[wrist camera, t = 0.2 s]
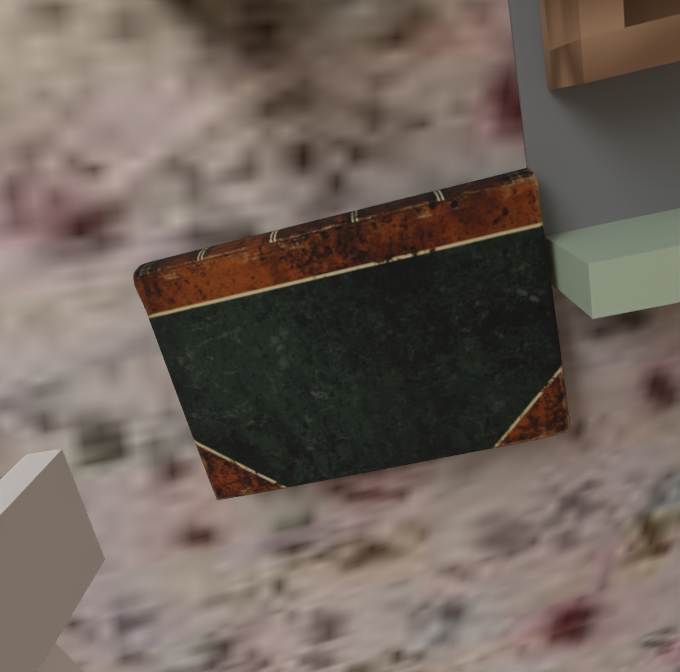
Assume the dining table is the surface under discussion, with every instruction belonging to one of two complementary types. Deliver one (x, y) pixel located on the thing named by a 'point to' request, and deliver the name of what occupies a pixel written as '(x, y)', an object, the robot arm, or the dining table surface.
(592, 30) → the socket block
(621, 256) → the wall
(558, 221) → the runner mat
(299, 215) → the dining table surface
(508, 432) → the book
